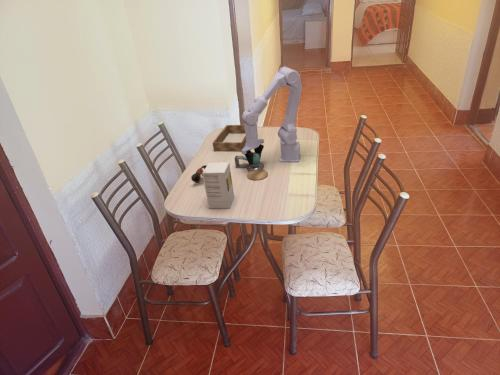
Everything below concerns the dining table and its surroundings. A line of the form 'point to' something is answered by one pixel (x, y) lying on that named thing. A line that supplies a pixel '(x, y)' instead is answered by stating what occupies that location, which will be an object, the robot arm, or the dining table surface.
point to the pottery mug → (198, 174)
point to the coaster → (257, 174)
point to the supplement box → (218, 185)
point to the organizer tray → (229, 146)
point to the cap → (254, 158)
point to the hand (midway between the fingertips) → (254, 161)
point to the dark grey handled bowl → (247, 166)
